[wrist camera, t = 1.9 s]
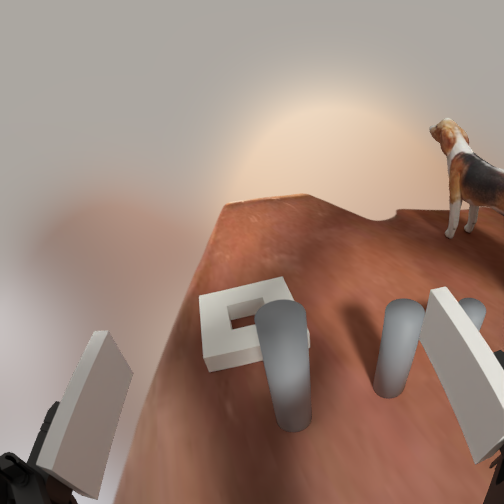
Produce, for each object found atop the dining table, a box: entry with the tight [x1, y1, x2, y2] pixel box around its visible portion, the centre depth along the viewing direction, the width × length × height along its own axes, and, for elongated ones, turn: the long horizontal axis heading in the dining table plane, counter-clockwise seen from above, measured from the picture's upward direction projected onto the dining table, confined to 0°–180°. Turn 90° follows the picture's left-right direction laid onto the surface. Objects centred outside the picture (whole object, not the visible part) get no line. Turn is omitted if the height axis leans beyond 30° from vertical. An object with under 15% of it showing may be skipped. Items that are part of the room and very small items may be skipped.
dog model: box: [430, 118, 504, 238], centre depth 44 cm, size 10×41×25 cm, turn 9°
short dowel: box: [458, 298, 486, 331], centre depth 31 cm, size 4×4×8 cm
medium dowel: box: [373, 299, 425, 398], centre depth 29 cm, size 4×4×12 cm
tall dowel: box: [254, 299, 312, 432], centre depth 28 cm, size 4×4×16 cm
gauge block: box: [199, 276, 310, 372], centre depth 45 cm, size 14×14×3 cm
